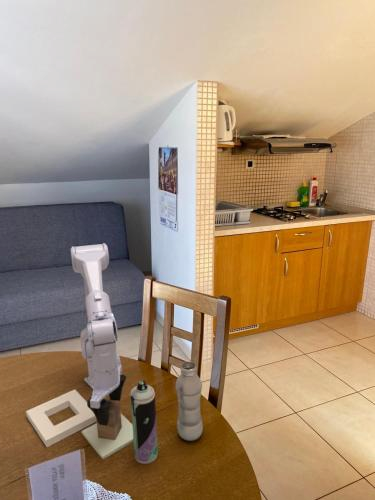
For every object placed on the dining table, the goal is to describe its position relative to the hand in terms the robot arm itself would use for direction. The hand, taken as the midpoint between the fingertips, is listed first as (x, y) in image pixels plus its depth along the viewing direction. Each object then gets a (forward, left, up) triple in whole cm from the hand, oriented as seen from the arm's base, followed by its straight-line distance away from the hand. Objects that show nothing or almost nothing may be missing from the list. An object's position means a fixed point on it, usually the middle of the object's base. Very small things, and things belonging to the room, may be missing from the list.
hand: (109, 413), depth 97 cm
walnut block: (0, 0, -6) cm, 6 cm away
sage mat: (0, 0, -7) cm, 7 cm away
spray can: (-3, +11, -7) cm, 13 cm away
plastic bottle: (-15, +13, -7) cm, 21 cm away
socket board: (+7, -14, -7) cm, 17 cm away
